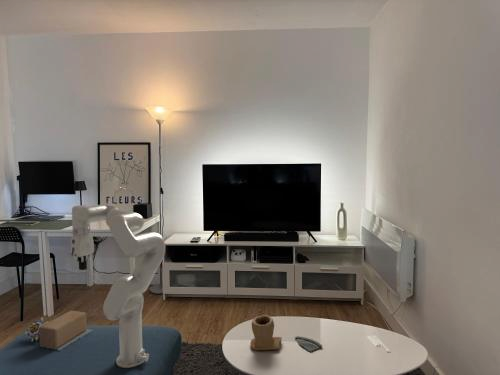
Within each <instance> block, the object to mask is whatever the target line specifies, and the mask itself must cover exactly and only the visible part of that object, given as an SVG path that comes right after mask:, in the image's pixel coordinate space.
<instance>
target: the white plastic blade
mask: <svg viewBox="0 0 500 375" xmlns="http://www.w3.org/2000/svg"><path fill="white" fill-rule="evenodd" d="M366 337H367V339H368V340H369V341H370V342H371V344H373V345H374V346H375V347H380V346H381V347H382V348H383V349H384V351H385V352H386V353H391V350H390V349H389V348H388V347H387V345H385V344H384V342H382V341H381V339H379V337H378V336H376V334H373V335H371V334H370V335H367V336H366Z"/></svg>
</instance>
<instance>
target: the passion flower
mask: <svg viewBox="0 0 500 375" xmlns="http://www.w3.org/2000/svg"><path fill="white" fill-rule="evenodd" d="M48 322H49V321H48V320H47V321H44V317H43V316H42V317H40V319H35V320H34V321H33V322H30V324H29V326H28V327H27V329H26V331H24V334H25V335H27V336H28V339H29V340H31V341H30V342H31V343H34V341H38V340H39V327H40V326H42V325H44V324H46V323H48Z"/></svg>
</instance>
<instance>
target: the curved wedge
mask: <svg viewBox="0 0 500 375" xmlns="http://www.w3.org/2000/svg"><path fill="white" fill-rule="evenodd" d="M294 339H295V341H296V342H297V344H298V346H299V347H301V348H302V349H303V350H305V351H307V352H308V353H312V352H313V353H314V352H315V351H317V350H320V349H322V348H323V345H322V344H321V343H320V342H318V341H317V340H314V339H311V338H309V337H305V336H299V335H298V336H294Z"/></svg>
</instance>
